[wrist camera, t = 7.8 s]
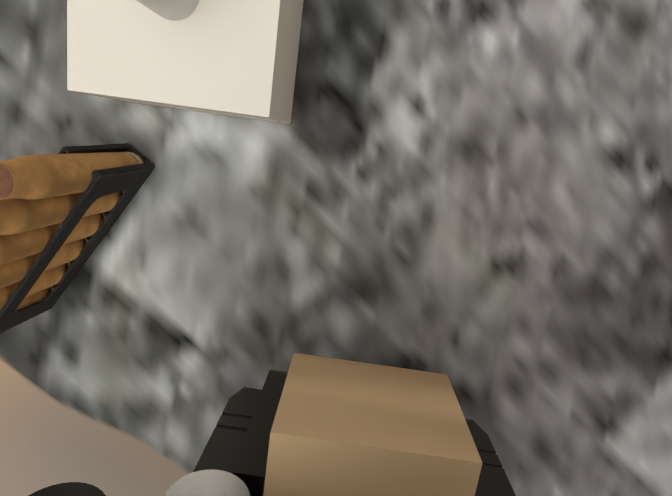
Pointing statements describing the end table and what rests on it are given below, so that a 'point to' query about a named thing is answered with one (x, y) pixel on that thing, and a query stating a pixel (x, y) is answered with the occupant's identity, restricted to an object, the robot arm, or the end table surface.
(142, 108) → the end table surface
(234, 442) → the robot arm
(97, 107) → the end table surface
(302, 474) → the oak link
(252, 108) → the ring stand
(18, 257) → the ammunition clip
